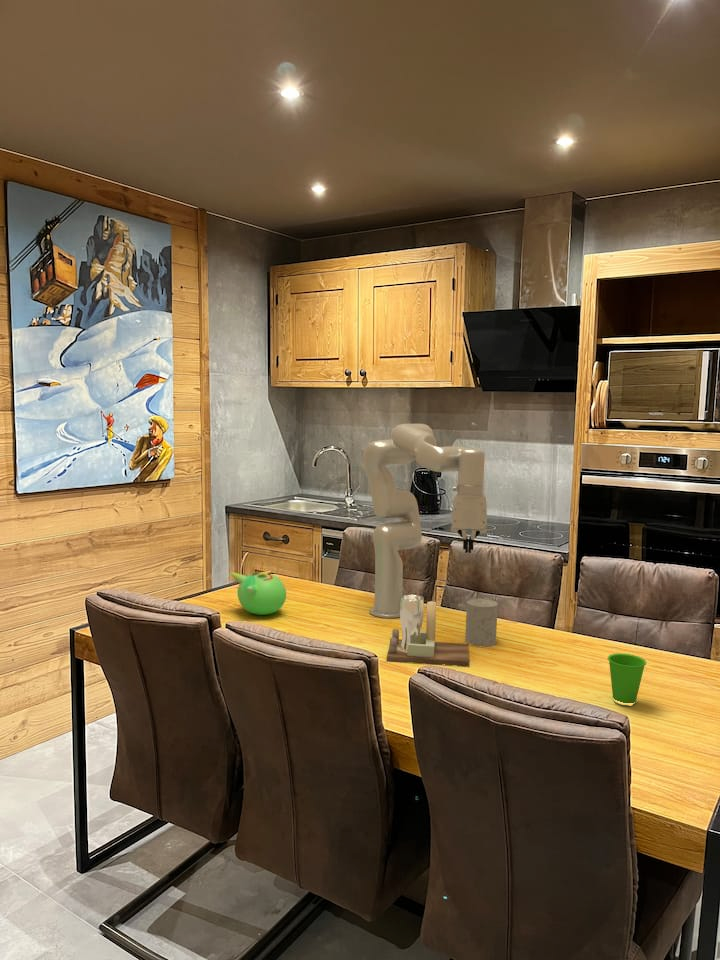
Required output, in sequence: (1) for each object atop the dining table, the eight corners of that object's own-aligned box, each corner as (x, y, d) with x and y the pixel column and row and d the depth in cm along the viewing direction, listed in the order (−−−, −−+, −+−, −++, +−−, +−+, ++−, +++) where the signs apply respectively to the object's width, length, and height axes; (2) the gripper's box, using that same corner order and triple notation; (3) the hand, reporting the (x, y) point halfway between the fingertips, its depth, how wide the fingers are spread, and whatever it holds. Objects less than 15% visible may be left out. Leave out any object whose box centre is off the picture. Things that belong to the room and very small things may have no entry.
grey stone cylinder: (499, 639, 227) (501, 600, 226) (491, 648, 219) (493, 608, 217) (470, 634, 231) (471, 596, 230) (461, 643, 223) (462, 604, 221)
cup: (599, 695, 185) (601, 653, 184) (633, 694, 186) (636, 653, 185) (614, 710, 176) (617, 666, 175) (650, 709, 177) (653, 666, 176)
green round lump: (294, 616, 246) (295, 574, 245) (249, 624, 237) (249, 580, 235) (270, 603, 261) (270, 563, 260) (226, 610, 252) (226, 568, 250)
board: (391, 643, 221) (391, 626, 220) (467, 648, 218) (468, 630, 217) (386, 661, 206) (387, 642, 206) (468, 666, 203) (469, 647, 203)
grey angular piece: (410, 640, 219) (411, 595, 217) (435, 642, 218) (436, 596, 217) (407, 655, 206) (408, 607, 205) (434, 657, 205) (435, 609, 204)
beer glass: (421, 652, 209) (422, 601, 207) (397, 650, 210) (398, 599, 208) (424, 644, 215) (425, 595, 214) (400, 642, 217) (402, 593, 215)
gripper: (444, 491, 212) (442, 553, 214) (496, 493, 210) (494, 555, 212) (444, 488, 219) (442, 548, 221) (495, 490, 217) (492, 550, 219)
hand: (468, 551), depth 216 cm, fingers closed
